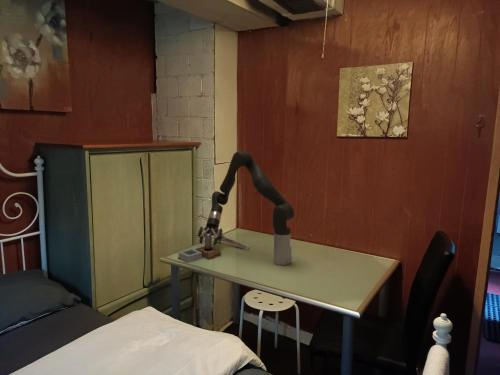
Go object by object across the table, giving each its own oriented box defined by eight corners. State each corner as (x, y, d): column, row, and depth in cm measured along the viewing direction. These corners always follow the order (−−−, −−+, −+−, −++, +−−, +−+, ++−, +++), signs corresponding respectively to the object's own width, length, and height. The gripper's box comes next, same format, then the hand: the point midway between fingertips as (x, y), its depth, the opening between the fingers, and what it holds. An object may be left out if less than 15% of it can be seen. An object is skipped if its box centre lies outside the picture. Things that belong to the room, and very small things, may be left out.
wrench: (247, 255, 227) (211, 240, 243) (249, 254, 229) (212, 240, 245) (249, 243, 225) (212, 229, 242) (250, 242, 227) (214, 228, 243)
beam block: (220, 255, 217) (220, 250, 216) (208, 259, 210) (208, 253, 210) (207, 250, 225) (207, 245, 224) (195, 254, 218) (195, 248, 218)
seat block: (201, 258, 212) (201, 252, 211) (188, 262, 205) (188, 256, 205) (191, 254, 218) (191, 248, 218) (178, 258, 212) (178, 252, 211)
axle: (213, 255, 218) (213, 233, 215) (207, 256, 215) (207, 235, 213) (208, 253, 220) (208, 232, 218) (203, 254, 217) (203, 233, 215)
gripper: (201, 216, 223) (194, 239, 214) (223, 217, 220) (217, 242, 211) (204, 222, 229) (197, 245, 220) (226, 224, 226) (220, 248, 216)
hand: (207, 243), depth 215 cm, fingers open, 8 cm apart
